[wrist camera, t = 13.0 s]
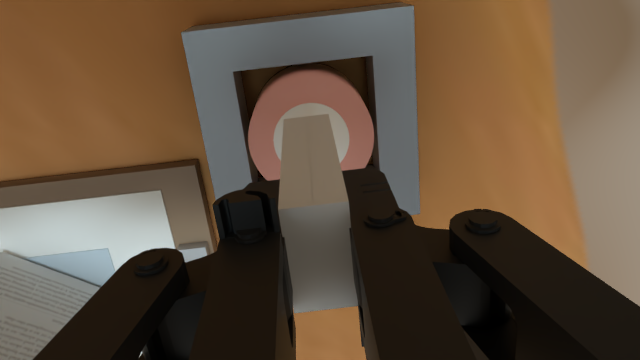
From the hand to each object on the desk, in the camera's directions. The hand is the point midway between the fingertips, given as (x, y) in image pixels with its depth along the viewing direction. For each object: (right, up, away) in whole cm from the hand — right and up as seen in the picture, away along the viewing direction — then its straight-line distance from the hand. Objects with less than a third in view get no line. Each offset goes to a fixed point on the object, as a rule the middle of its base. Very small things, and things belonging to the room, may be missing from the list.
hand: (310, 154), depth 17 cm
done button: (0, +2, +6) cm, 6 cm away
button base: (0, +2, +6) cm, 7 cm away
